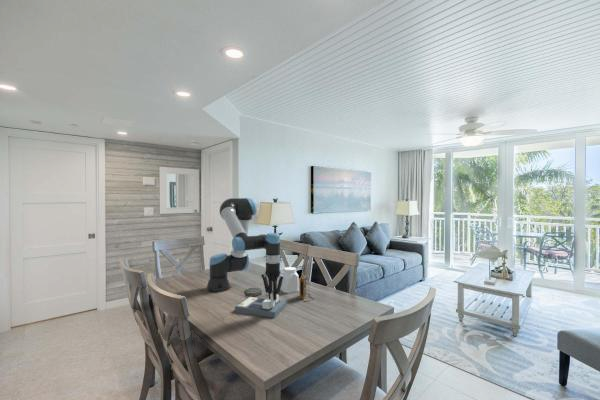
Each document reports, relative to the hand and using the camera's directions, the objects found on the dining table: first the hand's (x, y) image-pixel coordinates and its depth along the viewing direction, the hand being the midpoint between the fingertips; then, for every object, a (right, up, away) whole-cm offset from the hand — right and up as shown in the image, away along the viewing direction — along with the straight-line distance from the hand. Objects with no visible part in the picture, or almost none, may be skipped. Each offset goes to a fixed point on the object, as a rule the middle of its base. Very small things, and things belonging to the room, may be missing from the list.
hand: (272, 305), depth 150 cm
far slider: (0, -1, +9) cm, 9 cm away
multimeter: (+20, -5, +25) cm, 33 cm away
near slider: (-3, -1, +1) cm, 3 cm away
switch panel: (-7, -5, +7) cm, 11 cm away
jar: (+8, -5, +39) cm, 40 cm away
